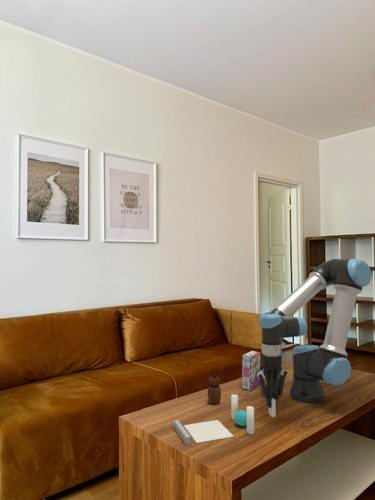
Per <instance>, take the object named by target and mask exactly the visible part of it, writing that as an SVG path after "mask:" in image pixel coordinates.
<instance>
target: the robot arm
mask: <svg viewBox="0 0 375 500" xmlns="http://www.w3.org/2000/svg"><path fill="white" fill-rule="evenodd" d="M371 271H372V270H371V268H370V267H369V264H368V263H367V262H366V261H365V260H363V259H361V258H359V259H358V258H332V259H329V260H326V261H324V262H323V263H321V264H320V265H318V266H317V267H315V268H314V269H313V270H312V271H311V272H310V273H309V274H308V277H307V279H306V280H305V281H303V282H302V283H301V284H300V285H299V286H298V287H297V288H296V289H294V290H293V291H292V292H291V293H290V294H288V296H286V297H285V298H284V299H283V300H282V301H281V302H280V303H279V304H278V305H276V306H275V307H274V308H273V309H272V310H270V312H268V311H267V312H263V313H261V314H260V315H259V317H258V324H259V326H260V328H261V365H262V366H261V368H260V373H256V376H257V377H258V379H259V384H260V385H259V389H260V392H261V396H262V397H263V398H264V399H266V407H268V415H269V416H270V417H272V418H275V417H277V414H276V413H277V410H276V409H277V407H278V400H280V398H279V397H282V396H283V390H284V387H285V381H286V377H287V375H288V372H287V371H286V370H284V369H283V367H282V363H283V361H282V358H283V357H282V355H281V354H282V339H286V338H296V337H297V338H299V337H301V336H302V337H303V336H305V335H306V334H307V331H308V324H307V321H306V320H305V319H304V318H303V317H300V316H298V317H296V316H295V317H293V316H294V315H295V314H296V313H298V311H300V309H302V308H303V307H304V306H305V305H306V304H307V303H308V302H309V301H310V300H311V299H312V298H313V297H315V296H316V295H317V294H318V293H319V292H320V291H321V290H325V289H327V288H328V287H329V286H333V288H334V289H335V293H334V298H333V302H332V306H331V310H330V315H329V319H328V323H327V327H326V331H325V337H324V341H323V343H322V344H321V345H320V346H319V345H314V344H302V345H301V344H300V345H296V346H294V347H293V348H292V381H291V384H290V387H289V392H288V394H289V397H290V398H291V399H292V400H295V401H297V402H301V403H308V404H317V403H318V404H319V403H321V402H323V401H324V400H325V392H324V389H323V385H322V383H321V382H320V380H321V381H324V382H325V383H327V385H330V384H332V385H331V386H341V385H343V384H344V383H346V382H347V380H348V381H349V377H350V375H351V372H352V366H351V363H350V361H349V360H348V355H349V354H348V353H347V351H346V346H347V343H348V342H347V341H348V338H349V332H350V328H351V323H352V318H353V315H354V314H353V313H354V310H355V305H356V302H357V296H358V295H359V294H361V293H362V291H363V288H364V287H367V286H368V285H369V284H370V283H371V280H372V272H371ZM325 383H324V384H325Z"/></svg>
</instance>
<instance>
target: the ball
mask: <svg viewBox="0 0 375 500" xmlns="http://www.w3.org/2000/svg"><path fill="white" fill-rule="evenodd" d="M234 422H235V423H236V424H237V425H238V426H239V427H247V410H244V409H243V410H241V409H240V410H238V412H237V413H236V415H235V420H234Z"/></svg>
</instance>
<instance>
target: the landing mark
mask: <svg viewBox="0 0 375 500" xmlns="http://www.w3.org/2000/svg"><path fill="white" fill-rule="evenodd" d="M183 427H184V429H185V430H186V431H187V433H188V434H189V435H190V437H191V439H193V441H194V442H195V443H196V444H200V443H207V442H212V441H216V440H222V439H228V438H229V439H230V438H233V437H235V436H234V435H233V434H232V433H231V432H230V431H229V430H228V429H227V428H226V427H225V426H224V424H222V422H221V421H219V420H218V419H216V420H215V419H214V420H208V421H202V422H196V423H191V424H184V425H183Z"/></svg>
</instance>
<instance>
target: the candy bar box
mask: <svg viewBox="0 0 375 500" xmlns="http://www.w3.org/2000/svg"><path fill="white" fill-rule="evenodd" d="M241 358H242V361H241V365H242V366H241V367H242V368H241V389H242V390H245V391H249V392H250V391H253V390H254V389H256V388H257V387H260V384H259V379H258V377H257V376H256V373H260V372H261V352H259V351H255V350H251V351H249V352H247V353H245V354H242V357H241Z"/></svg>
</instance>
